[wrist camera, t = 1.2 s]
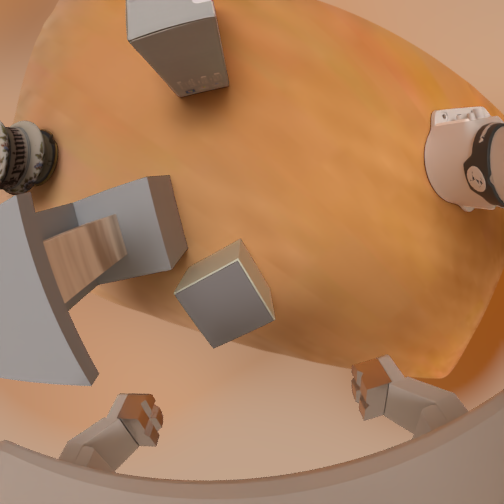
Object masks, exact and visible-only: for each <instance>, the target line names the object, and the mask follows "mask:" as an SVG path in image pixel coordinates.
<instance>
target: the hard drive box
mask: <svg viewBox="0 0 504 504" xmlns="http://www.w3.org/2000/svg"><path fill="white" fill-rule="evenodd" d="M126 30H127V40H128V41H129V43H130V44H131V45H132V46H133V47H134V48H135V49H136V51H138V52H139V53H140V55H141V56H142V57H143V58H144V59H145V60H146V61H147V62H148V63H149V64H150V65H151V66H152V68H153V69H154V70H155V71H156V72H157V73H158V74H159V75H160V77H161V78H162V79H163V80H164V81H165V82H166V83H167V84H168V86H169V87H170V88H171V89H172V90H173V91H174V92H175V94H176V95H177V96H180V97H183V96H187V95H191V94H196V93H200V92H204V91H208V90H213V89H217V88H222V87H227V86H229V81H228V75H227V70H226V64H225V59H224V54H223V49H222V44H221V39H220V33H219V28H218V22H217V17H216V12H215V7H214V2H213V0H126Z"/></svg>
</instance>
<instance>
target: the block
mask: <svg viewBox="0 0 504 504" xmlns="http://www.w3.org/2000/svg"><path fill="white" fill-rule="evenodd" d="M43 244H44V247H45V250H46V253H47V256H48V260H49V263H50V266H51V268H52V271H53V274H54V277H55V280H56V282H57V285H58V288H59V290H60V293H61V295H62V298H63V300H64V303H66V302H67V301H69V300H70V299H71V298H72V297H73V296H75V295H76V294H77V293H78V292H80V291H81V290H82V289H83V288H85V287H86V286H87V285H88V284H90V283H91V282H92V281H93V280H95V279H96V278H97V277H98V276H100V275H101V274H102V273H103V272H105V271H106V270H107V269H109V268H110V267H111V266H113V265H114V264H115V263H116V262H118V261H119V260H120V259H122V258H123V257H124V256H126V255H127V251H126V247H125V244H124V241H123V237H122V234H121V230H120V227H119V223H118V219H117V216H116V214H114V215H111V216H107V217H104V218H101V219H98V220H95V221H92V222H89V223H86V224H83V225H81V226H78V227H76V228H73V229H71V230H68V231H66V232H63V233H61V234H58V235H56V236H54V237H51V238H49V239H46V240H44V241H43Z"/></svg>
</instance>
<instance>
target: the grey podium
mask: <svg viewBox="0 0 504 504" xmlns="http://www.w3.org/2000/svg"><path fill="white" fill-rule="evenodd" d="M114 214H116V216H117V219H118V223H119V227H120V230H121V234H122V237H123V241H124V244H125V247H126V251H127V255H126V256H124V257H123V258H122V259H120V260H119V261H118V262H116V263H115V264H114V265H113V266H111V267H110V268H109V269H107V270H106V271H105V272H103V273H102V274H101V275H100V276H98V277H97V278H96V279H95V280H93V281H92V282H91V283H90V284H88V285H87V286H86V287H85V288H83V289H82V290H81V291H80V292H78V293H77V294H76V295H75V296H73V297H72V298H71V299H70V300H69V301H67V302H66V303H64V300H63V298H62V295H61V293H60V290H59V288H58V285H57V282H56V280H55V277H54V274H53V271H52V268H51V266H50V263H49V260H48V256H47V253H46V250H45V247H44V244H43V241H44V240H46V239H49V238H51V237H54V236H56V235H58V234H61V233H63V232H66V231H68V230H71V229H73V228H76V227H78V226H81V225H83V224H86V223H89V222H92V221H95V220H98V219H101V218H104V217H107V216H111V215H114ZM187 249H188V247H187V243H186V239H185V236H184V232H183V228H182V224H181V220H180V216H179V212H178V208H177V204H176V200H175V196H174V192H173V188H172V184H171V180H170V175H164V176H150V177H145V178H141V179H138V180H135V181H132V182H129V183H126V184H123V185H120V186H117V187H114V188H111V189H109V190H106V191H103V192H100V193H97V194H95V195H92V196H89V197H87V198H84V199H82V200H79V201H76V202H74V203H70V204H66V205H62V206H59V207H55V208H51V209H47V210H44V211H40V212H37V213H35V209H34V205H33V200H32V196H31V192H28V193H23V194H18V195H15V196H13V197H12V198H10V199H8V200H7V201H5V202H3V203H2V204H0V378H5V379H12V380H20V381H28V382H38V383H49V384H63V385H80V386H81V385H82V386H91V385H92V384H93V383H94V381H95V379H96V378H97V376H98V375H99V373H98V371H97V369H96V367H95V365H94V364H93V362H92V360H91V358H90V356H89V354H88V352H87V350H86V348H85V346H84V345H83V342H82V341H81V338H80V336H79V334H78V332H77V330H76V328H75V326H74V324H73V321H72V319H71V317H70V315H69V312H68V311H69V309H71V308H72V307H73V306H74V305H75V304H76V303H78V302H79V301H80V300H81V299H82V298H83V297H84V296H86V295H87V294H88V293H89V292H90V291H91V290H93V289H94V288H95V287H96V286H97V285H100V284H105V283H109V282H114V281H119V280H124V279H129V278H133V277H138V276H143V275H148V274H153V273H157V272H162V271H167V270H172V268H173V267H174V266H175V264H176V263H177V262H178V260H179V259H180V258H181V256H182V255H183V254H184V253H185V251H186V250H187Z"/></svg>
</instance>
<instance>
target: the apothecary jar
mask: <svg viewBox="0 0 504 504" xmlns="http://www.w3.org/2000/svg"><path fill="white" fill-rule="evenodd" d="M52 137H53V135H52V134H51V133H50V132H49V131H47V130H40V129H39V128H38V127H37V126H36V125H35V124H34V123H32V122H29V121H20V122H17V123H15V124H13V125H12V126H11V127H5V126H4V125H3V123H2V122H1V121H0V189H3V190H5V191H6V192H7V193H9V194H12V195H18V194H23V193H25V192H27V191H28V190H30V189H31V188H32V187H33V186H34V185H41V184H43V183H45V182H46V181H47V180H48V179H49V178H50V176H51V175H52V173H53V171H54V169H55V166H56V163H57V157H58V148H57V143H56V142H55V141H54V140H53V138H52Z"/></svg>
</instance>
